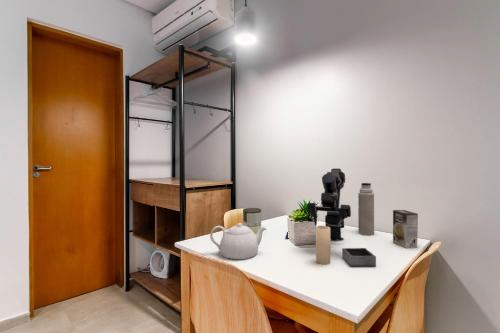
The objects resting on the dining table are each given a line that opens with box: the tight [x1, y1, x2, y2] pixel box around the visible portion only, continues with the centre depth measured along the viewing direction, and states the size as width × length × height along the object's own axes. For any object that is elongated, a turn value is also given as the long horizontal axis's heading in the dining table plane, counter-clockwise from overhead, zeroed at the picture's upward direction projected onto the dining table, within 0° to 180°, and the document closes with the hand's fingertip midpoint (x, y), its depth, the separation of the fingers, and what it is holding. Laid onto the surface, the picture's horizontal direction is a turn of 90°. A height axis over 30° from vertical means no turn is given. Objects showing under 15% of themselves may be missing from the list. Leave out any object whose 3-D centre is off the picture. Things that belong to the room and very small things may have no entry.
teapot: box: [209, 222, 267, 260], centre depth 118 cm, size 19×18×14 cm
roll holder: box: [341, 247, 377, 268], centre depth 106 cm, size 10×10×4 cm
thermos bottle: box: [357, 182, 375, 236], centre depth 146 cm, size 8×8×28 cm
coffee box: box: [392, 209, 419, 249], centre depth 126 cm, size 9×6×16 cm
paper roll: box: [315, 225, 332, 265], centre depth 107 cm, size 6×6×14 cm
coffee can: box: [242, 207, 262, 235], centre depth 147 cm, size 10×10×14 cm
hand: (326, 225), depth 113 cm, fingers open, 9 cm apart
